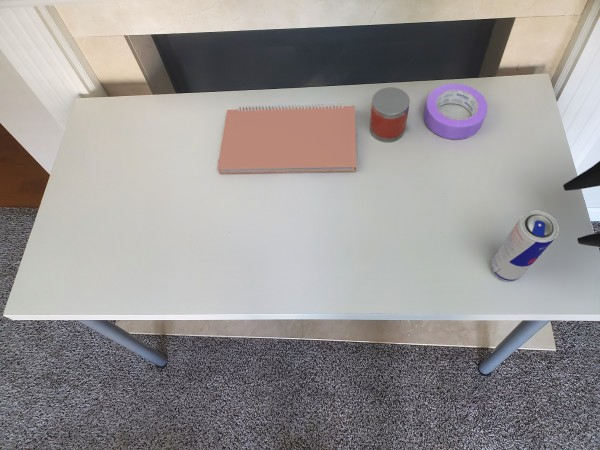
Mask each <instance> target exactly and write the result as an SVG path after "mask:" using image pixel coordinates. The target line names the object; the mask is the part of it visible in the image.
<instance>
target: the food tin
mask: <svg viewBox="0 0 600 450" xmlns="http://www.w3.org/2000/svg"><path fill="white" fill-rule="evenodd" d="M410 102H411V99H410V96H409V95H408V94H407V92H406V91H405V90H404V89H401V88H399V87H391V86H390V87H383V88H381V89H379V90H378V91H376V92H375V93H374V94H373V95H372V100H371V106H370V107H371V109H370V120H369V121H370V122H369V131H370V134H371V136H372V137H373V138H374V139H375V140H377V141H379V142H382V143H394V142H397V141H398V140H400V139H401V138H403V136H404V134H405V132H406V127H407V122H408V116H409V111H410V104H411V103H410Z"/></svg>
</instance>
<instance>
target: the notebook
mask: <svg viewBox="0 0 600 450" xmlns="http://www.w3.org/2000/svg"><path fill="white" fill-rule="evenodd" d="M337 104H338V105H337ZM310 105H311V106H310ZM356 123H357V121H356V106H355V105H344V103H341V104H340V103H331V106H330V103H328V104H326V103H325V104H323V103H322V104H321V105H320V104H304V105H303V104H298V105H296V104H294V105H293V104H291V105H289V104H288V105H287V104H285V105H282V104H281V105H268V106H266V105H264V106H263V105H262V106H260V105H258V106H253V105H252V106H238V108H237V109H227V110H226V114H225V122H224V127H223V134H222V139H221V145H220V151H219V158H218V163H217V169H216V170H217V171H218V174H219V175H224V174H225V175H229V174H231V175H233V174H283V173H284V174H287V173H288V174H289V173H290V174H291V173H295V174H296V173H346V172H347V173H348V172H349V173H350V172H351V173H352V172H355V173H356V172H357V167H358V165H357V164H358V162H357V161H358V160H357V159H358V158H357V128H356V127H357V124H356Z"/></svg>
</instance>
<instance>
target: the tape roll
mask: <svg viewBox="0 0 600 450" xmlns="http://www.w3.org/2000/svg"><path fill="white" fill-rule="evenodd" d="M449 104H452V105H458V106H462V107H463V108H465V109H466V110H468V111H469V113H470V114H471V115H470V116H469V117H465V118H452V117H449V116H447V115H445V114H444V113H443V112H442V111H440V108H439V107H441V106H443V105H444V106H445V105H449ZM488 106H489V105H488V101H487V100H486V98H485V97H484V95H483V94H482V93H481V92H480V91H479V90H477V89H475V88H474V87H472V86H470V85H467V84H463V83H446V84H442V85H440V86H438V87H436V88H434V89H433V90H432V91H431V92H430V93H429V94H428V96H427V98H426V102H425V107H424V111H423V121H424V123H425V125H426V127H427V128H428V129H429V130H430V131H431V132H432V133H434V135H437V136H438V137H441V138H444V139H449V140H464V139H468V138H470V137H473V136H474V135H476V133H477V134H478V132H479V131H480V129H481V127H482V125H483V123H484V121H485V118H486V116H487V113H488V108H489V107H488Z"/></svg>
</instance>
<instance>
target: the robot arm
mask: <svg viewBox="0 0 600 450" xmlns="http://www.w3.org/2000/svg"><path fill="white" fill-rule="evenodd" d="M595 187H600V160H598V161H597V162H596V163H595V164H594V165H592V166H590V167H588V169H586V170H585V171H583V172H581V173H580V174H578V175H576V176H575V177H574V178H571V179H570V180H568V181H567V182H565V183H564V184H563V185H562V188H563V190H564V192H565V191H567V192H568V191H578V190H584V189H589V188H590V189H591V188H595ZM576 240H577V243H578V244H579V245H582V246H583V245H584V246H591V247H596V248H600V232H595V233H590V234H587V235H583V236H580V237H578V238H577V239H576Z"/></svg>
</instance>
